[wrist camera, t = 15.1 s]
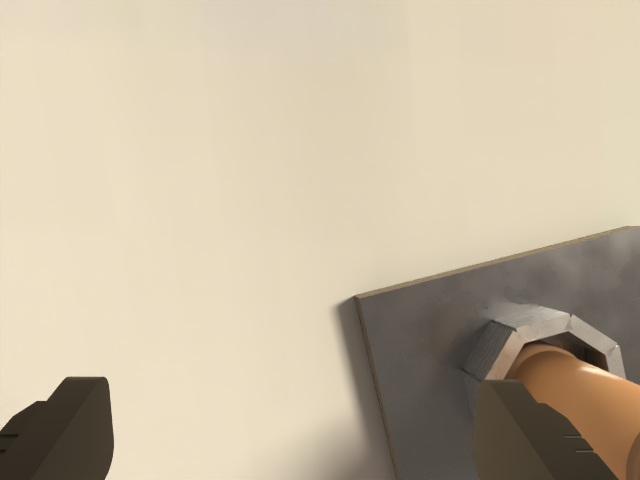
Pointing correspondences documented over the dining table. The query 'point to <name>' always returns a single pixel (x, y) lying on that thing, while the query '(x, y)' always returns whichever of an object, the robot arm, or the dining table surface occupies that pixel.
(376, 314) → the plate
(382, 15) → the dining table surface
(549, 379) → the capped orange cylinder
